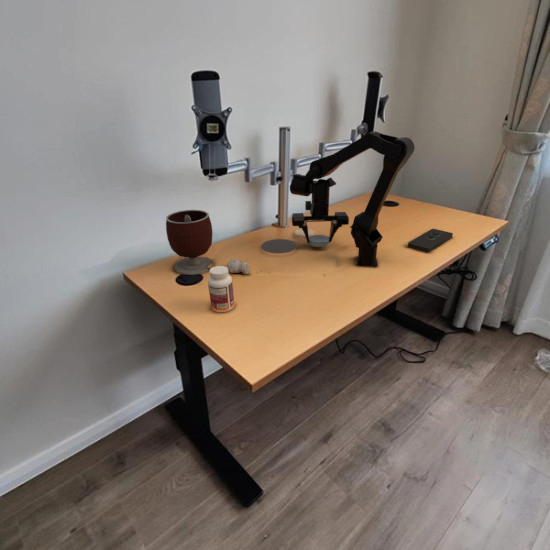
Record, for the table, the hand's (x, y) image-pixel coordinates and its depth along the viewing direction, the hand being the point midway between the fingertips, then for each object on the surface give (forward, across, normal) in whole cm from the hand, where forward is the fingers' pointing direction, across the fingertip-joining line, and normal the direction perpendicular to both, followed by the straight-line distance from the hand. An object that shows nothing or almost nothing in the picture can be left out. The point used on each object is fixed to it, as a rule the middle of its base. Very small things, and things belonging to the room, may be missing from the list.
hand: (318, 242), depth 127 cm
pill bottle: (+3, +30, +35) cm, 46 cm away
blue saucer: (+1, 0, 0) cm, 1 cm away
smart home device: (+3, -41, -5) cm, 42 cm away
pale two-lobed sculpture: (+3, +27, +16) cm, 31 cm away
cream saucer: (+3, +4, -13) cm, 14 cm away
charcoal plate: (+3, +14, -2) cm, 14 cm away
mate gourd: (+3, +42, +11) cm, 43 cm away
